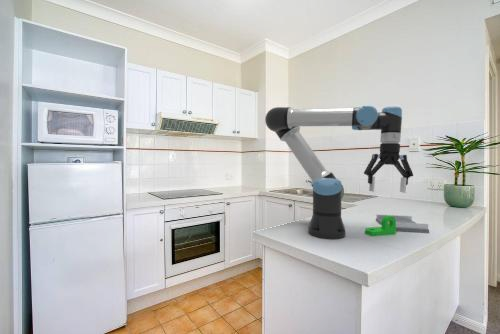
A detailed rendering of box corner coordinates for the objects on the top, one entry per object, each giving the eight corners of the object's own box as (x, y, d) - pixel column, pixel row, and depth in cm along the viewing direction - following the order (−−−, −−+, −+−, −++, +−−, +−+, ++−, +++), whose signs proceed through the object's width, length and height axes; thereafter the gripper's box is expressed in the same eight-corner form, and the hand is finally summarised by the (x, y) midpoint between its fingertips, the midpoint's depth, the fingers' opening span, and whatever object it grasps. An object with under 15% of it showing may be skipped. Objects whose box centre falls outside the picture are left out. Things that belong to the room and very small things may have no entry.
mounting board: (388, 230, 106) (388, 227, 106) (375, 220, 123) (375, 217, 123) (429, 233, 103) (429, 229, 103) (409, 222, 120) (409, 219, 120)
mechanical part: (384, 230, 107) (384, 213, 107) (395, 234, 101) (396, 216, 101) (362, 232, 104) (362, 214, 104) (372, 236, 98) (372, 217, 98)
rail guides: (388, 227, 107) (388, 222, 106) (376, 218, 123) (376, 214, 123) (428, 229, 103) (428, 224, 103) (410, 219, 119) (410, 216, 119)
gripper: (365, 141, 99) (362, 191, 100) (425, 143, 99) (421, 194, 99) (357, 142, 106) (354, 189, 107) (412, 144, 106) (409, 191, 107)
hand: (387, 191), depth 103 cm, fingers open, 13 cm apart
